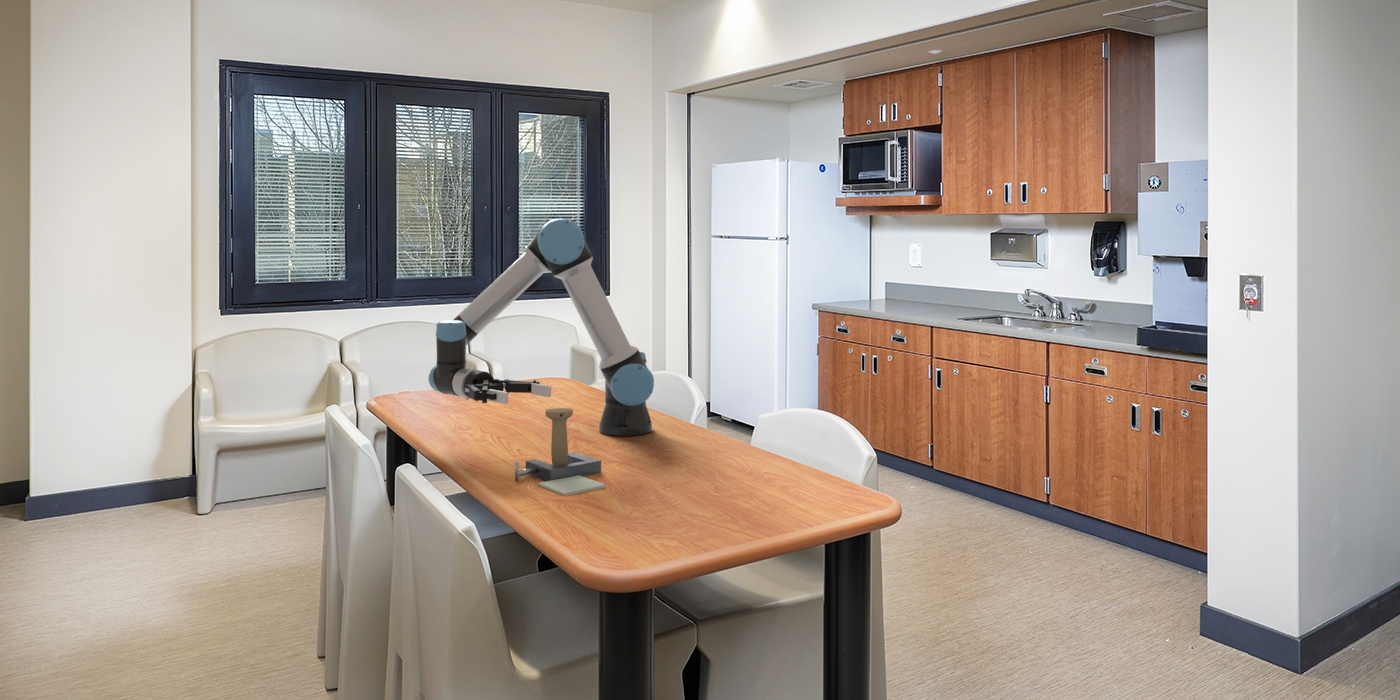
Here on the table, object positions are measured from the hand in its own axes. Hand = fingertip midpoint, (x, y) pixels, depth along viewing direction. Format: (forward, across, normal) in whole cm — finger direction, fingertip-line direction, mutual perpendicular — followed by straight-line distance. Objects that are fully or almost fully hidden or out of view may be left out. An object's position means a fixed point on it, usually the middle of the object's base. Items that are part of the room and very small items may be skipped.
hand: (528, 394), depth 234 cm
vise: (+11, +2, -17) cm, 21 cm away
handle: (+10, -1, -18) cm, 21 cm away
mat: (+22, +6, -17) cm, 29 cm away
